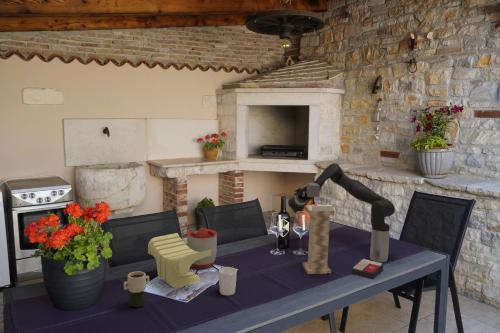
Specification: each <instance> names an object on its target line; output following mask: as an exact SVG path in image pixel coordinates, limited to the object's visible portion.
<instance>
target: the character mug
mask: <svg viewBox="0 0 500 333" xmlns="http://www.w3.org/2000/svg"><path fill="white" fill-rule="evenodd" d="M148 284H150V275H146V273H145V272H144V271H138V270H136V271H132V272H129V273H128V274H127V281H124V282H123V290H128V292H130V293H129V300H128V305H129V306H131V307H134V308H140V307H142V306H144V305H145V304H146V298H145V293H144V292H145V290H146V288H147V285H148Z"/></svg>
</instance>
